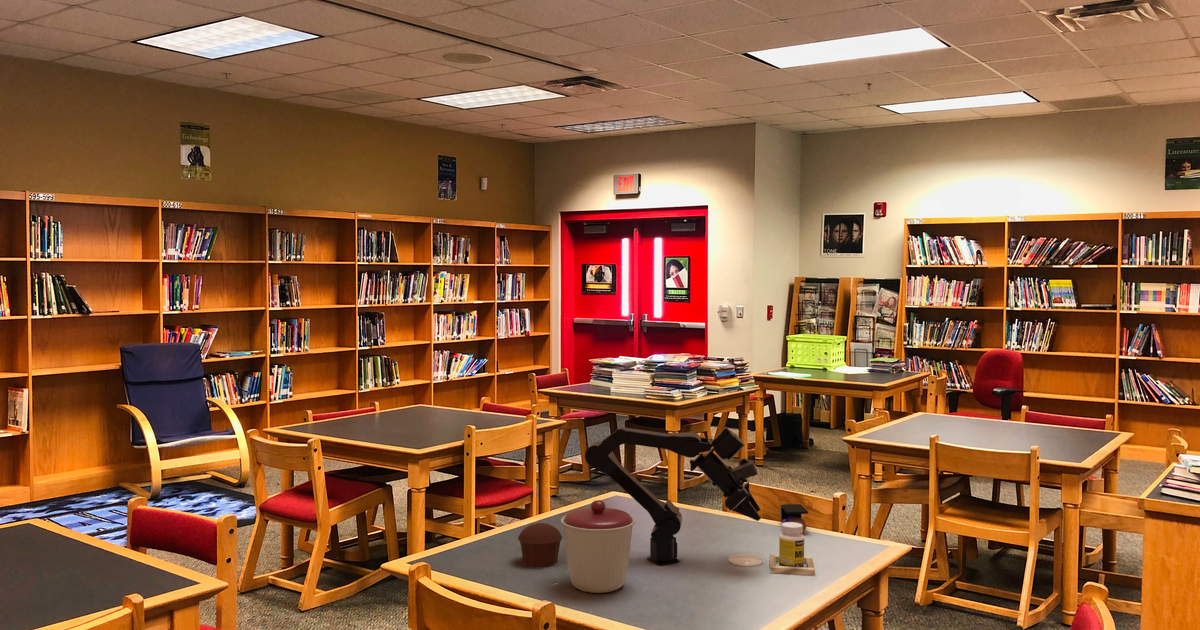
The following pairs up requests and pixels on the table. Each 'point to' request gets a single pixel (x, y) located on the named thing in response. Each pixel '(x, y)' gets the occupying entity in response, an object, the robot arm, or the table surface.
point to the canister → (598, 547)
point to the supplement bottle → (791, 545)
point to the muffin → (540, 545)
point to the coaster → (745, 560)
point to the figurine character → (792, 514)
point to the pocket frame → (792, 570)
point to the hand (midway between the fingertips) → (759, 515)
